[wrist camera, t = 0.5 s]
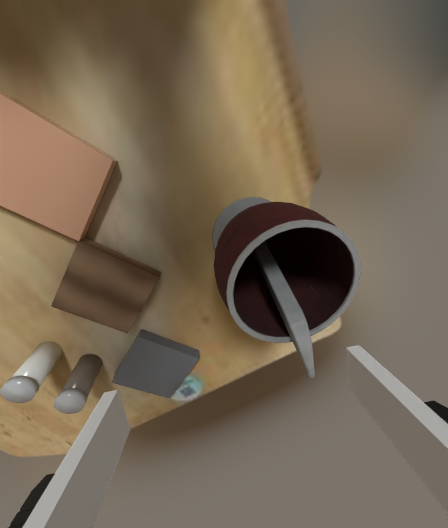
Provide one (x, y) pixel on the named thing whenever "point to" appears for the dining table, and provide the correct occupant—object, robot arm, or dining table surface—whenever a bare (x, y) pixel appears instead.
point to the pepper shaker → (78, 385)
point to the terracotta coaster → (49, 171)
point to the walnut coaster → (105, 286)
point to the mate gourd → (283, 271)
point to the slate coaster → (155, 365)
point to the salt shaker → (32, 373)
